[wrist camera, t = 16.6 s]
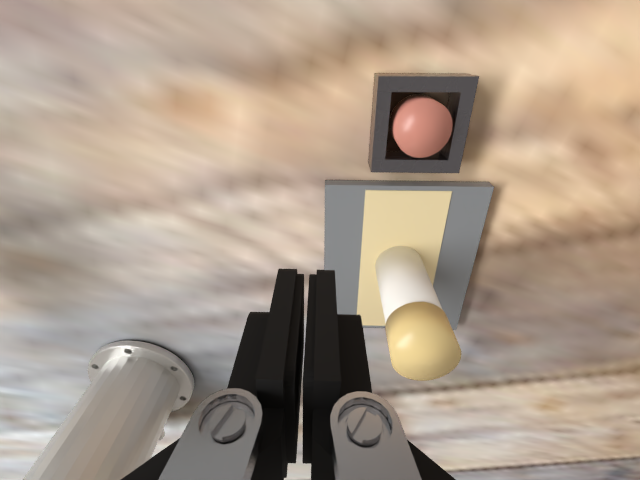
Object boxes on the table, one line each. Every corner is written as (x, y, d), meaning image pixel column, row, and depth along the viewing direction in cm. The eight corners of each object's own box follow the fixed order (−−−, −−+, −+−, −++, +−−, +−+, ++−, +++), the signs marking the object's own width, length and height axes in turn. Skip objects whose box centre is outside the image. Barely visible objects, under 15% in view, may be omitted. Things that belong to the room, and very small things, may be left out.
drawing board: (452, 321, 38) (456, 330, 37) (324, 318, 38) (323, 327, 37) (488, 181, 30) (494, 187, 29) (325, 180, 30) (325, 185, 29)
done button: (436, 147, 28) (446, 158, 26) (386, 146, 28) (392, 157, 26) (445, 94, 26) (457, 100, 24) (392, 94, 26) (398, 99, 24)
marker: (419, 285, 34) (453, 381, 24) (372, 284, 34) (388, 379, 24) (426, 245, 32) (467, 333, 22) (375, 244, 32) (394, 331, 22)
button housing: (449, 163, 29) (459, 173, 27) (368, 162, 29) (371, 172, 27) (466, 73, 26) (479, 76, 24) (374, 73, 26) (378, 76, 24)
